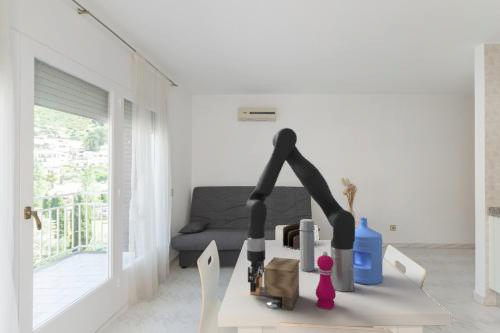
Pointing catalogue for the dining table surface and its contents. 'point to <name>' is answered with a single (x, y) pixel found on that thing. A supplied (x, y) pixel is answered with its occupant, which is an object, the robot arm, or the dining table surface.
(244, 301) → the dining table surface
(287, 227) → the letter holder
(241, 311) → the dining table surface
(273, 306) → the token
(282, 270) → the brown wooden block
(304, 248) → the water bottle
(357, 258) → the water jug
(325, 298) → the pepper mill
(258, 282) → the tan grey l-shaped piece
